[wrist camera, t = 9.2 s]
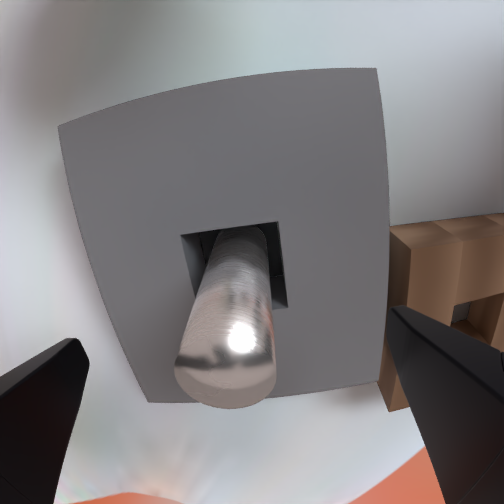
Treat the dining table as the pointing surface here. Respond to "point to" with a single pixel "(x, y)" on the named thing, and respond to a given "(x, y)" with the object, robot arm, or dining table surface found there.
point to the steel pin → (231, 325)
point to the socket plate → (241, 216)
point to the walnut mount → (446, 282)
